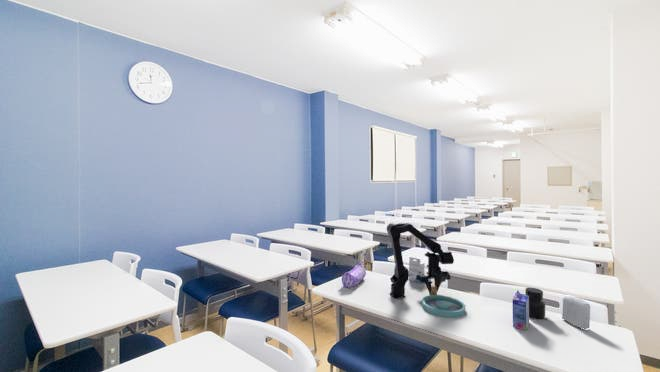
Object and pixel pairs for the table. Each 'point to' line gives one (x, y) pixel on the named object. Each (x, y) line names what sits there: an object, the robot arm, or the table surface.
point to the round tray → (443, 306)
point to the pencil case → (353, 276)
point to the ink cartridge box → (520, 311)
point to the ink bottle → (536, 303)
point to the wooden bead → (433, 290)
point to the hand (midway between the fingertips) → (433, 292)
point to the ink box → (415, 269)
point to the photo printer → (576, 311)
